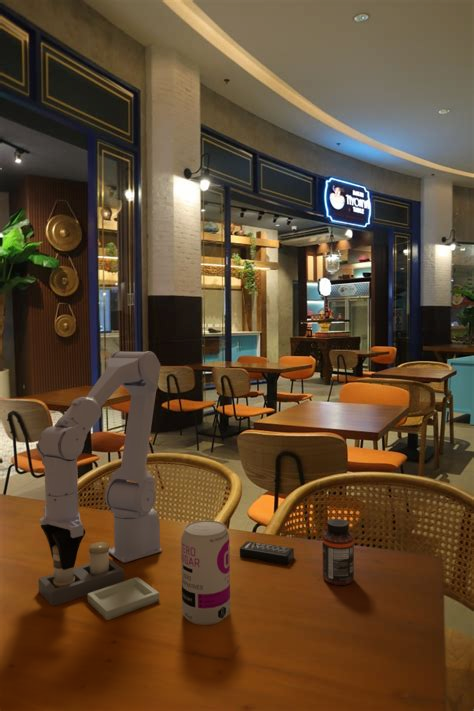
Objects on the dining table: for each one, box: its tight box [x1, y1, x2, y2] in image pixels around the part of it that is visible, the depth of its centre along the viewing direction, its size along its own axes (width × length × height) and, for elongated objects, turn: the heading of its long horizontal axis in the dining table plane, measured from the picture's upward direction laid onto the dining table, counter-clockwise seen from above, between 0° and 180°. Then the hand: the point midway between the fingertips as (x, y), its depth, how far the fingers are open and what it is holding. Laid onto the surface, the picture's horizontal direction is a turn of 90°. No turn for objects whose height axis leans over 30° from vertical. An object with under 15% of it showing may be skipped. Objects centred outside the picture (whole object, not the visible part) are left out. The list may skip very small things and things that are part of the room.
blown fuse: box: [52, 545, 75, 588], centre depth 99 cm, size 4×4×7 cm
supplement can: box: [180, 519, 231, 626], centre depth 91 cm, size 8×8×15 cm
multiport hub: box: [239, 540, 295, 566], centre depth 114 cm, size 4×11×2 cm, turn 66°
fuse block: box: [38, 558, 125, 607], centre depth 101 cm, size 14×7×2 cm, turn 129°
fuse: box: [88, 541, 110, 576], centre depth 103 cm, size 4×4×7 cm
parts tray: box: [87, 576, 160, 621], centre depth 96 cm, size 10×8×2 cm
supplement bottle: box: [321, 518, 355, 586], centre depth 103 cm, size 6×6×11 cm
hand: (63, 564), depth 99 cm, fingers closed on blown fuse, 4 cm apart
